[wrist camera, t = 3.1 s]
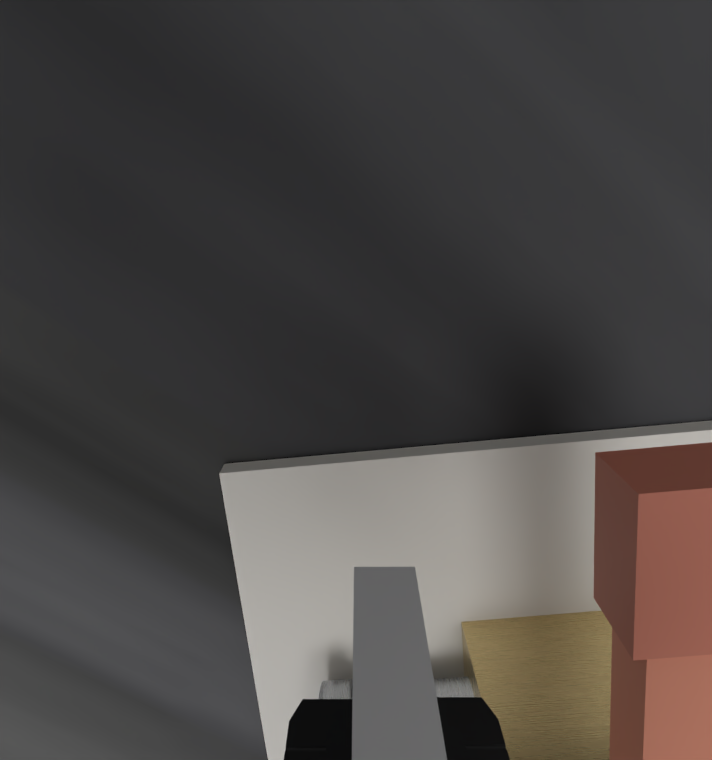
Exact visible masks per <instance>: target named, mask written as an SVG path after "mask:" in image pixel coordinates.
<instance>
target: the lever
mask: <svg viewBox="0 0 712 760" xmlns="http://www.w3.org/2000/svg"><path fill="white" fill-rule="evenodd" d="M594 599H595V601H596V603H597V604H598V606H599V607H600V609H601V610H602V612H603V614H604V615H605V617H606V618H607V620H608V622H609V623H610V625H611V626H612V657H611V704H610V751H609V760H712V442H708V443H697V444H686V445H674V446H663V447H652V448H640V449H629V450H618V451H606V452H595V517H594Z"/></svg>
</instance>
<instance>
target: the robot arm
mask: <svg viewBox="0 0 712 760" xmlns="http://www.w3.org/2000/svg"><path fill="white" fill-rule="evenodd" d="M284 760H510V758H509V755H508V751H507V749H506V744H505V741H504V737H503V734H502V730H501V727H500V723H499V720H498V718H497V717H496V715H495V714H494V713H493V711H492V710H491V709H490V708H489V706H488V705H487V704H486V702H485V701H484V700H483V698H482V697H437V696H436V690H435V684H434V678H433V672H432V666H431V660H430V654H429V648H428V642H427V636H426V630H425V624H424V618H423V612H422V606H421V600H420V594H419V588H418V582H417V576H416V570H415V567H354V609H353V696H352V699H302V701H301V703H300V704H299V706H298V707H297V709H296V711H295V712H294V714H293V715H292V717H291V719H290V720H289V725H288V733H287V740H286V750H285V754H284Z"/></svg>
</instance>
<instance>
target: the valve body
mask: <svg viewBox="0 0 712 760" xmlns="http://www.w3.org/2000/svg"><path fill="white" fill-rule="evenodd" d="M461 628H462V645H463V663H464V677H452V678H439V679H434V684H435V690H436V696H437V697H482V698H483V700H484V701H485V702H486V704H487V705H488V706H489V708H490V709H491V710H492V711H493V713H494V714H495V715H496V717H497V718H498V720H499V723H500V727H501V730H502V734H503V737H504V741H505V744H506V749H507V751H508V755H509V758H510V760H609V751H610V704H611V657H612V626H611V625H610V623H609V622H608V620H607V618H606V617H605V615H604V614H603V612H602V611H589V612H577V613H564V614H552V615H539V616H527V617H514V618H502V619H490V620H477V621H465V622H461ZM352 696H353V680H352V679H340V680H327V681H323V682H322V684H321V687H320V693H319V699H352Z"/></svg>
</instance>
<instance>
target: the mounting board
mask: <svg viewBox="0 0 712 760" xmlns="http://www.w3.org/2000/svg"><path fill="white" fill-rule="evenodd" d="M708 442H712V420H711V421H699V422H688V423H677V424H666V425H655V426H643V427H632V428H621V429H610V430H598V431H587V432H576V433H565V434H553V435H542V436H531V437H520V438H508V439H497V440H486V441H475V442H463V443H452V444H441V445H430V446H419V447H407V448H396V449H385V450H374V451H362V452H351V453H340V454H329V455H317V456H306V457H295V458H284V459H272V460H261V461H250V462H239V463H227V464H224V466H223V467H222V469H221V471H220V473H219V476H220V481H221V487H222V493H223V499H224V505H225V511H226V517H227V522H228V528H229V534H230V540H231V546H232V552H233V558H234V563H235V569H236V575H237V581H238V587H239V593H240V598H241V604H242V610H243V616H244V622H245V628H246V634H247V639H248V645H249V651H250V657H251V663H252V669H253V675H254V680H255V686H256V692H257V698H258V704H259V710H260V715H261V721H262V727H263V733H264V739H265V745H266V751H267V756H268V760H284V754H285V750H286V740H287V733H288V725H289V720H290V719H291V717H292V715H293V714H294V712H295V711H296V709H297V707H298V706H299V704H300V703H301V701H302V699H319V693H320V687H321V684H322V682H323V681H327V680H340V679H352V680H353V609H354V567H415V570H416V576H417V582H418V588H419V594H420V600H421V606H422V612H423V618H424V624H425V630H426V636H427V642H428V648H429V654H430V660H431V666H432V672H433V678H434V679H439V678H452V677H464V663H463V645H462V628H461V622H465V621H477V620H490V619H502V618H514V617H527V616H539V615H552V614H564V613H577V612H589V611H602V610H601V609H600V607H599V606H598V604H597V603H596V601H595V599H594V517H595V452H606V451H618V450H629V449H640V448H652V447H663V446H674V445H686V444H697V443H708Z"/></svg>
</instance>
